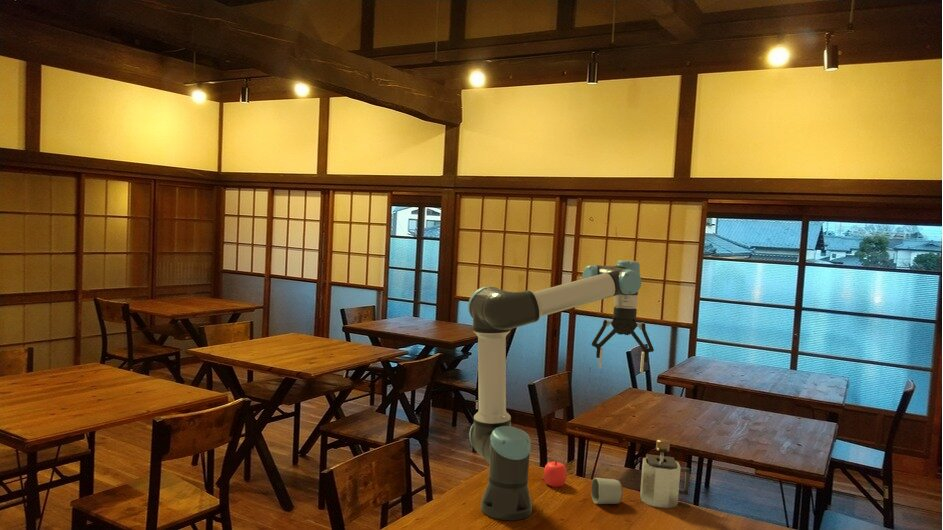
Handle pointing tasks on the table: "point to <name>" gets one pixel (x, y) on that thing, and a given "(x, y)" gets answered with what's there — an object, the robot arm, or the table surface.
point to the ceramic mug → (606, 491)
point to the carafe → (662, 481)
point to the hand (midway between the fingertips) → (620, 369)
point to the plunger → (662, 447)
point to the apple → (555, 474)
